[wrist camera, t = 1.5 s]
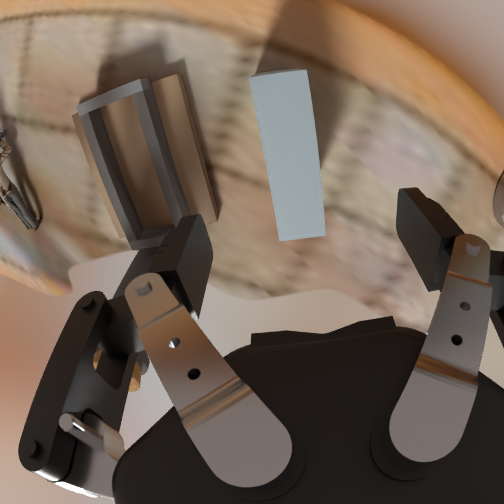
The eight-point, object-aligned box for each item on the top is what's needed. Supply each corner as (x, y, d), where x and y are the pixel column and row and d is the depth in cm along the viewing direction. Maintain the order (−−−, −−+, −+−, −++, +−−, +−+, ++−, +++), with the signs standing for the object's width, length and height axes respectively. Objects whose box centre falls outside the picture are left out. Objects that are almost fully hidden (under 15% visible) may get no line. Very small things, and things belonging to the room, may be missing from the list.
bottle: (148, 285, 35) (106, 391, 23) (128, 247, 32) (69, 355, 19) (190, 281, 34) (158, 397, 22) (173, 240, 31) (123, 360, 19)
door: (294, 68, 20) (306, 69, 14) (311, 187, 26) (325, 235, 20) (255, 73, 21) (248, 77, 14) (277, 192, 27) (279, 241, 20)
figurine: (56, 198, 32) (-4, 112, 21) (60, 208, 30) (-8, 114, 18) (26, 228, 30) (-38, 147, 19) (27, 240, 28) (-45, 153, 17)
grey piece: (179, 68, 20) (167, 69, 18) (220, 220, 29) (215, 238, 26) (77, 108, 22) (58, 115, 19) (125, 235, 31) (114, 252, 28)
